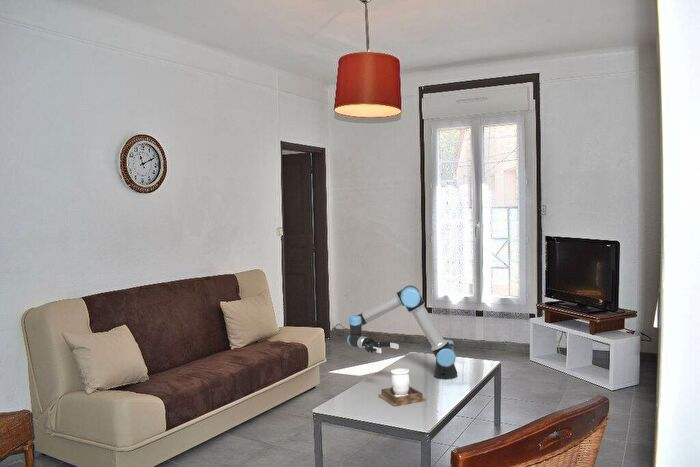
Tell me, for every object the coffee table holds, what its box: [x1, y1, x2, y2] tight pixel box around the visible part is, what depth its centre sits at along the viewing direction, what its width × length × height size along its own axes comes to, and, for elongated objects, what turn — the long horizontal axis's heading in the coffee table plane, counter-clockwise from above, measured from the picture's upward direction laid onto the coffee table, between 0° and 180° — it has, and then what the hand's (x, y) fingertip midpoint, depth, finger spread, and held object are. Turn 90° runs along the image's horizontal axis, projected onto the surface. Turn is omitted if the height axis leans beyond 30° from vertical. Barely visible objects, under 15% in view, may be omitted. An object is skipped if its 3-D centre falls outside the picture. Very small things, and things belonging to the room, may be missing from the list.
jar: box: [390, 367, 411, 397], centre depth 311 cm, size 11×10×15 cm
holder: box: [377, 385, 427, 408], centre depth 311 cm, size 20×20×4 cm
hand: (389, 348), depth 320 cm, fingers open, 13 cm apart
